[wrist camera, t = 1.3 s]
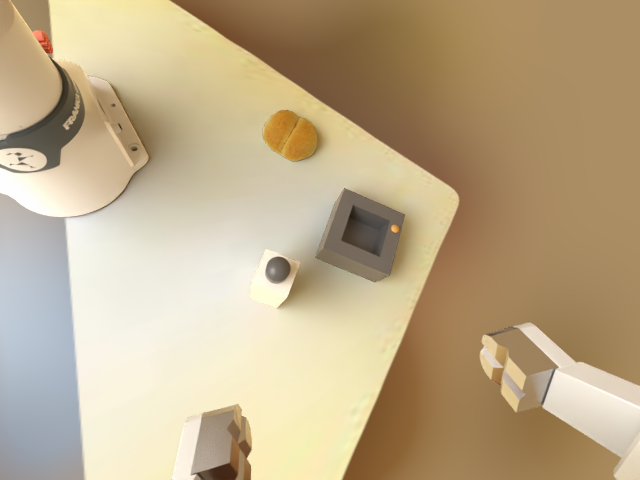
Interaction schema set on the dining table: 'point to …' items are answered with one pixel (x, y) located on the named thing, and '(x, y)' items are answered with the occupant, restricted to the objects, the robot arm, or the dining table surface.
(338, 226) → the socket block
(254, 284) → the plug
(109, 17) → the dining table surface
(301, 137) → the bread roll
